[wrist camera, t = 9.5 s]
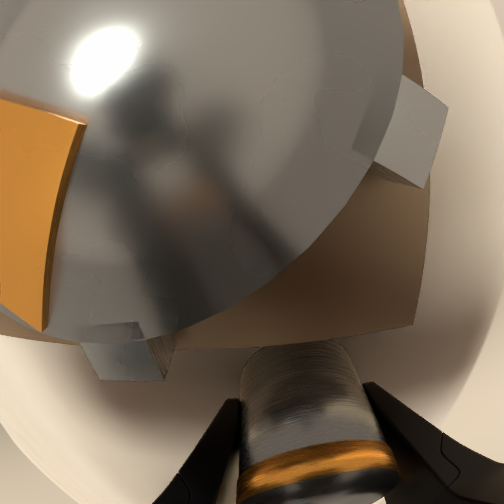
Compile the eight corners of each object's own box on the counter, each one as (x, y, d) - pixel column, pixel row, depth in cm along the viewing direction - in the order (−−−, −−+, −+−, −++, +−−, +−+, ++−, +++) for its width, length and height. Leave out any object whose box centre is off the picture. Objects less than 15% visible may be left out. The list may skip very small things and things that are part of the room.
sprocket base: (399, 309, 8) (414, 326, 7) (-6, 320, 9) (-19, 331, 8) (341, -99, 3) (346, -113, 2) (-14, -4, 3) (-26, -9, 2)
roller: (345, 406, 10) (377, 507, 5) (244, 417, 10) (244, 528, 5) (359, 326, 9) (425, 448, 4) (232, 339, 9) (224, 484, 4)
